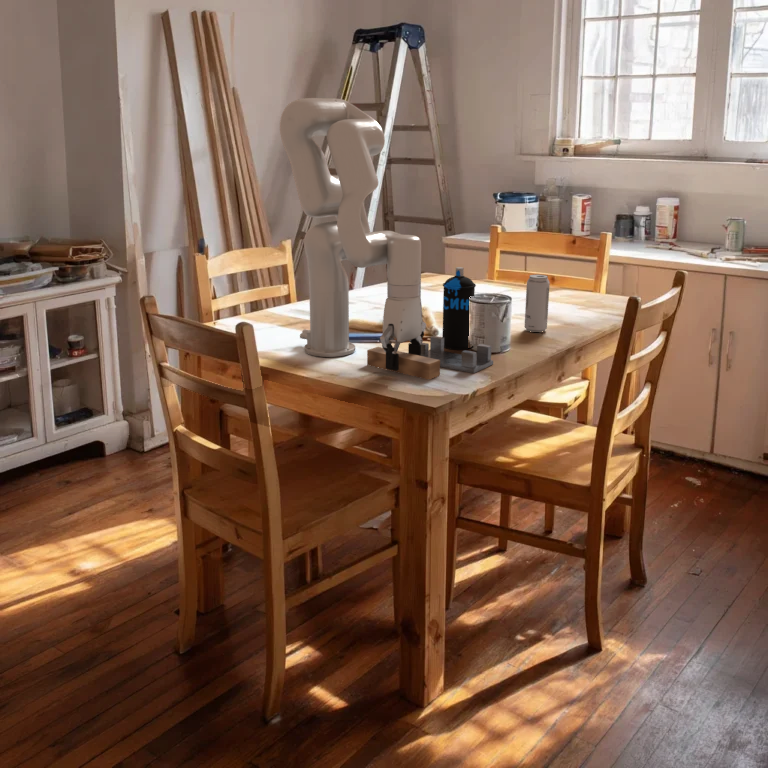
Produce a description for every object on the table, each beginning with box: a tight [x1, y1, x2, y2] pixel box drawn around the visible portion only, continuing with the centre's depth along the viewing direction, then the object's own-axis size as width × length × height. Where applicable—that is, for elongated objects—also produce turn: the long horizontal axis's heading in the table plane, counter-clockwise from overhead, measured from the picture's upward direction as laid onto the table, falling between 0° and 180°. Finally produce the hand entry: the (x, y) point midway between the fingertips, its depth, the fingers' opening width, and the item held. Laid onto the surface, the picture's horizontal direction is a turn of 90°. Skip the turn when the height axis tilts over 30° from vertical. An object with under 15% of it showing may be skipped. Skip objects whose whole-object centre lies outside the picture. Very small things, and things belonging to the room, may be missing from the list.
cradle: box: [421, 335, 494, 374], centre depth 213 cm, size 17×9×4 cm, turn 55°
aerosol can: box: [441, 266, 477, 351], centre depth 225 cm, size 8×8×20 cm
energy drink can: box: [524, 273, 551, 332], centre depth 241 cm, size 6×6×15 cm
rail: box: [366, 346, 441, 380], centre depth 207 cm, size 18×4×4 cm, turn 52°
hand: (403, 364), depth 207 cm, fingers open, 8 cm apart
